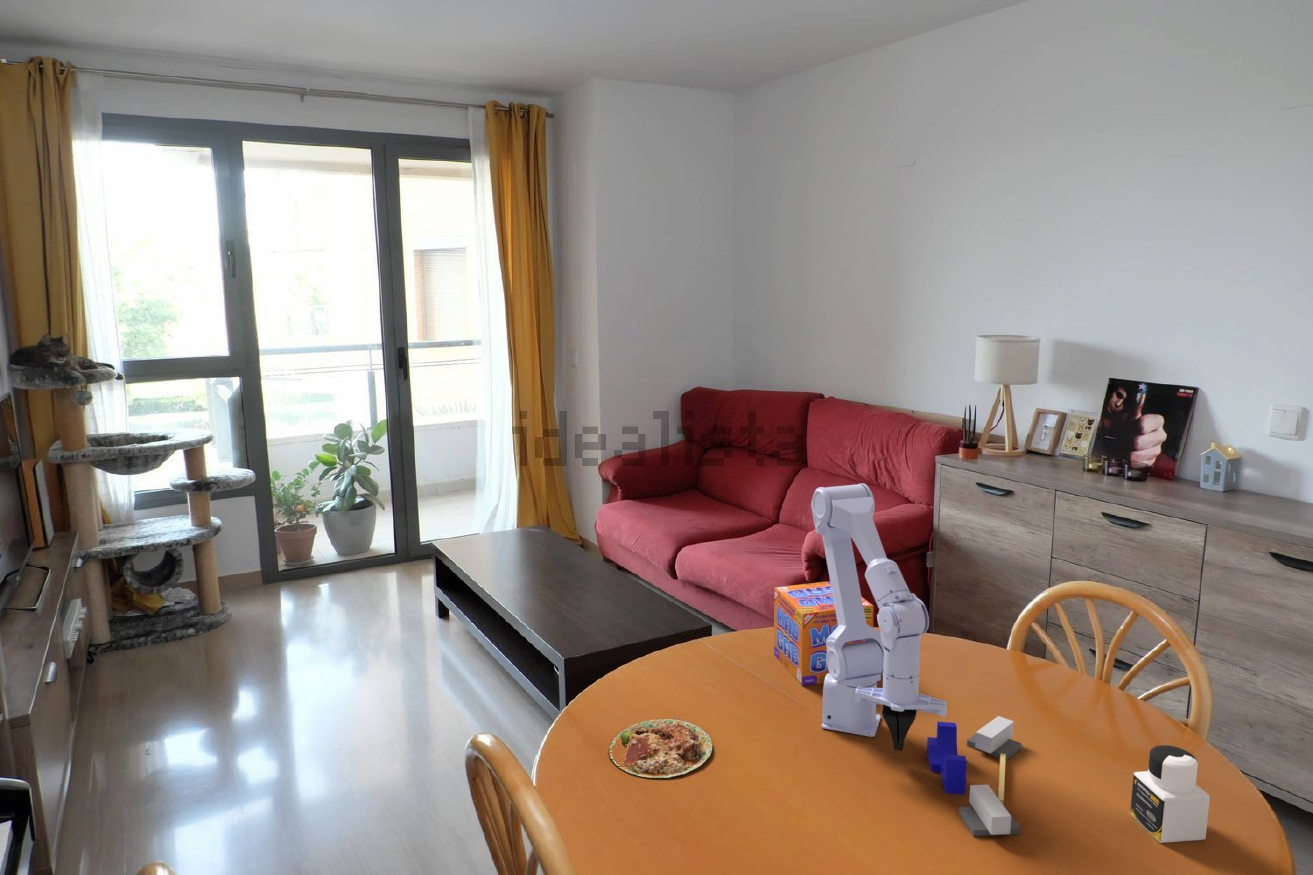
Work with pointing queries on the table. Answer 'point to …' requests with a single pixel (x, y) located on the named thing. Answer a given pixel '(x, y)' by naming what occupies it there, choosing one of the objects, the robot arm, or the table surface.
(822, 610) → the game box
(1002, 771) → the shaft rig
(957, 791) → the blue piece
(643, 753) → the food
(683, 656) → the table surface
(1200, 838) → the medicine bottle
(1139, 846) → the table surface
